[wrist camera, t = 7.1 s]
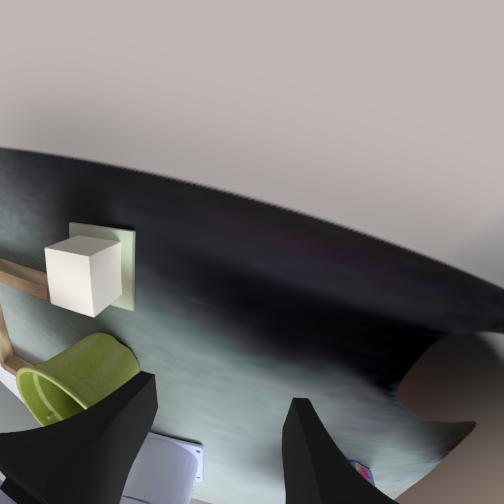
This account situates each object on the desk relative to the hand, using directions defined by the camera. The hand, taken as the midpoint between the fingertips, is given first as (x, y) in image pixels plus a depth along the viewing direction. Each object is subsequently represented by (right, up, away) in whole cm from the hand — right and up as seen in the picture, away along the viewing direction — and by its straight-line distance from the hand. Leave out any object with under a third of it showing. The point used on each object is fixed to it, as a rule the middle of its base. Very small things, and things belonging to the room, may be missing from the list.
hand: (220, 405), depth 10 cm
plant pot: (-11, -4, +12) cm, 17 cm away
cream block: (-10, +5, +9) cm, 14 cm away
